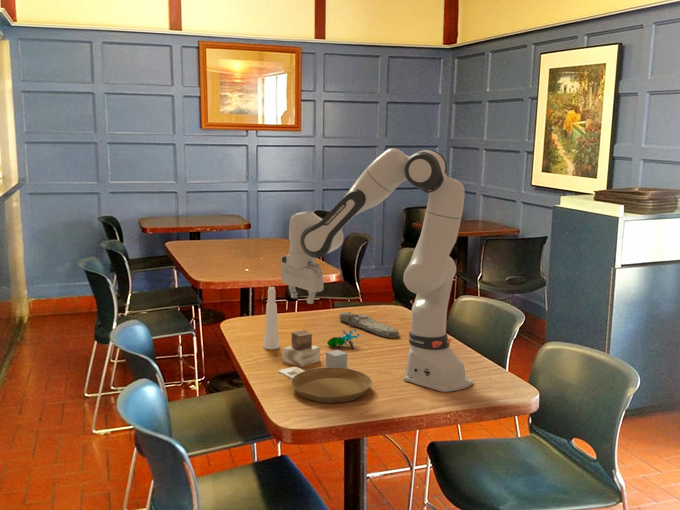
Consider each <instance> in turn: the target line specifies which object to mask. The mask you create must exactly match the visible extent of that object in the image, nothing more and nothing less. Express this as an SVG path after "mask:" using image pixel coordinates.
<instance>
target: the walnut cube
mask: <svg viewBox="0 0 680 510" xmlns="http://www.w3.org/2000/svg"><path fill="white" fill-rule="evenodd" d="M312 338H313V334H312V333H310V332H308V331H306V330H299V331H293V332H291V345H292V347H293V348H295V349H297V350H305V349H310V348H312V345H313V343H312V342H313V339H312Z"/></svg>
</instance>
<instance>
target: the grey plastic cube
mask: <svg viewBox="0 0 680 510" xmlns="http://www.w3.org/2000/svg"><path fill="white" fill-rule="evenodd" d="M325 368H345V369H348V353H347V352H344V351H342V350H340V349H335V350H331V351H326V352H325Z"/></svg>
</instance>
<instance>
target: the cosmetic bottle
mask: <svg viewBox="0 0 680 510" xmlns="http://www.w3.org/2000/svg"><path fill="white" fill-rule="evenodd" d="M275 288H276V287H274V286H270V287H268V290H267V303H266V307H265V325H264V326H265V327H264V328H265V329H264V340H263V345H262V348H263V349H264V350H278V349H279V348H280V347H281V344H280V339H279V329H278V327H279V326H278V306H277V305H278V304H277V303H276V289H275Z"/></svg>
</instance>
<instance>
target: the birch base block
mask: <svg viewBox="0 0 680 510" xmlns="http://www.w3.org/2000/svg"><path fill="white" fill-rule="evenodd" d="M281 350H282V352H281V353H282V354H281V355H282V356H281V357H282V359H281V360H282V361H281V362H282V363H286V364H290V365H294V366H296V367H299V368H300V367H301V368H304V367H307V366H309V365H312V364H314V363H317V362H319V361H320V360H321V347H320V346H317V345H314V344H312V348H310V349H305V350H297V349H295V348H293V347H292V344H291V345H287V346H285V347H282V349H281Z"/></svg>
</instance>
